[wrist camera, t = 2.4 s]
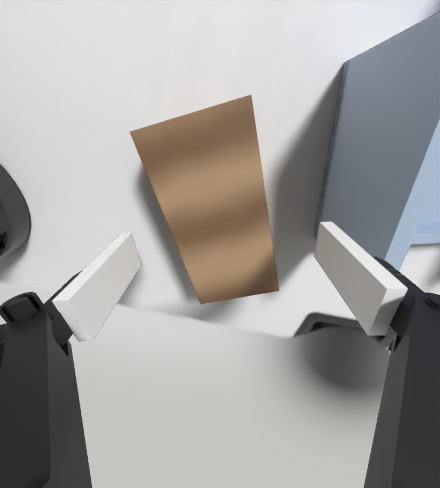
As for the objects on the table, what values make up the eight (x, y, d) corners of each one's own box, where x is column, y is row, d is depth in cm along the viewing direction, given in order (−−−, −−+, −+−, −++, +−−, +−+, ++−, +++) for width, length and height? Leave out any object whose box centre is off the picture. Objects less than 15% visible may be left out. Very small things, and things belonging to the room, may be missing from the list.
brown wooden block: (267, 256, 25) (279, 290, 20) (205, 268, 26) (200, 304, 21) (242, 104, 17) (251, 94, 12) (156, 130, 18) (129, 131, 13)
